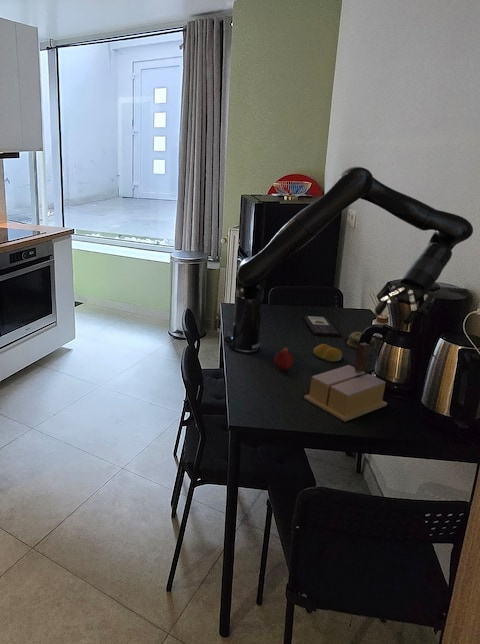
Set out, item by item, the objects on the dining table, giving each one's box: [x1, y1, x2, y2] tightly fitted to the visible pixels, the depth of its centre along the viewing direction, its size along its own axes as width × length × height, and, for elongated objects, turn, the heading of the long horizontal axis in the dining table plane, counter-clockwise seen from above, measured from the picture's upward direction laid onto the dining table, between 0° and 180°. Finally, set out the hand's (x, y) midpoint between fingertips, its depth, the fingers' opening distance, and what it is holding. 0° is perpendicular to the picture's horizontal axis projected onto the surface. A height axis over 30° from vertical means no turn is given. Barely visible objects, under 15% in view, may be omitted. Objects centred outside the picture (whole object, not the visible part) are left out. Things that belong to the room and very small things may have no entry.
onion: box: [273, 347, 294, 372], centre depth 157 cm, size 6×6×8 cm
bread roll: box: [313, 343, 343, 363], centre depth 168 cm, size 8×9×4 cm
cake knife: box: [354, 342, 370, 378], centre depth 139 cm, size 3×2×16 cm, turn 118°
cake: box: [303, 364, 388, 423], centre depth 138 cm, size 18×14×7 cm
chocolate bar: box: [303, 315, 340, 337], centre depth 194 cm, size 9×1×18 cm
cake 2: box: [346, 331, 378, 350], centre depth 177 cm, size 10×10×5 cm
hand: (390, 318), depth 139 cm, fingers open, 8 cm apart
